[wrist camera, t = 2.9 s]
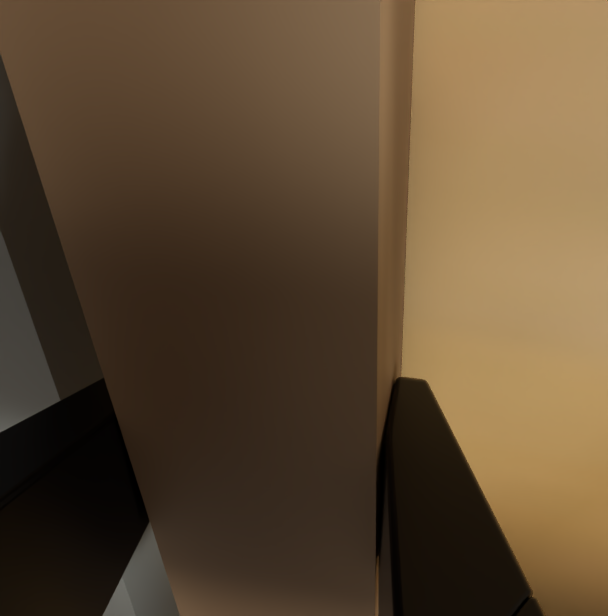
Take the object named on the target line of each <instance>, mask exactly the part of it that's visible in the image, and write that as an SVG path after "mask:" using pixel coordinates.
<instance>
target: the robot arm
mask: <svg viewBox="0 0 608 616" xmlns="http://www.w3.org/2000/svg"><path fill="white" fill-rule="evenodd" d="M149 522H150V520H149V517H148V514H147V511H146V508H145V505H144V501H143V498H142V495H141V492H140V489H139V486H138V483H137V480H136V476H135V473H134V470H133V467H132V464H131V461H130V458H129V454H128V451H127V448H126V445H125V442H124V439H123V436H122V433H121V429H120V426H119V423H118V420H117V417H116V414H115V411H114V408H113V404H112V401H111V398H110V395H109V392H108V389H107V386H106V382H105V379H104V378H102V379H100V380H98V381H96V382H94V383H93V384H91V385H89V386H87V387H85V388H83V389H81V390H79V391H77V392H76V393H74V394H72V395H70V396H68V397H66V398H64V399H62V400H60V401H59V402H57V403H55V404H53V405H51V406H49V407H47V408H45V409H43V410H41V411H40V412H38V413H36V414H34V415H32V416H30V417H28V418H26V419H24V420H23V421H21V422H19V423H17V424H15V425H13V426H11V427H9V428H7V429H6V430H4V431H2V432H0V616H103V614H104V612H105V610H106V608H107V606H108V604H109V602H110V600H111V598H112V596H113V594H114V592H115V590H116V588H117V586H118V584H119V582H120V580H121V578H122V576H123V574H124V572H125V570H126V568H127V566H128V564H129V562H130V560H131V558H132V556H133V554H134V552H135V550H136V548H137V546H138V544H139V542H140V540H141V538H142V536H143V534H144V532H145V530H146V528H147V526H148V524H149ZM532 594H533V591H532V589H531V587H530V585H529V583H528V581H527V579H526V577H525V575H524V573H523V571H522V569H521V567H520V565H519V563H518V561H517V559H516V557H515V555H514V553H513V551H512V549H511V547H510V545H509V543H508V541H507V539H506V537H505V535H504V533H503V531H502V529H501V527H500V525H499V523H498V521H497V519H496V517H495V515H494V513H493V511H492V509H491V507H490V505H489V503H488V502H487V500H486V498H485V496H484V494H483V492H482V490H481V488H480V486H479V484H478V482H477V480H476V478H475V476H474V474H473V472H472V470H471V468H470V466H469V464H468V462H467V460H466V458H465V456H464V454H463V452H462V450H461V448H460V446H459V444H458V442H457V440H456V438H455V436H454V434H453V432H452V430H451V428H450V426H449V424H448V422H447V420H446V418H445V416H444V414H443V412H442V410H441V408H440V406H439V404H438V402H437V400H436V398H435V396H434V394H433V392H432V390H431V388H430V386H429V384H428V383H427V381H425V380H423V379H417V378H409V377H398V378H397V379H396V380H395V384H394V390H393V395H392V400H391V406H390V411H389V416H388V422H387V427H386V434H385V446H384V462H383V479H382V495H381V512H380V531H379V553H378V616H545V614H544V612H543V610H542V608H541V606H540V604H539V602H538V600H537V599H536V598H534V597H532Z"/></svg>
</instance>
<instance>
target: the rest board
mask: <svg viewBox="0 0 608 616" xmlns="http://www.w3.org/2000/svg"><path fill="white" fill-rule="evenodd" d="M102 378H104V376H103V373H102V370H101V367H100V364H99V361H98V357H97V354H96V351H95V348H94V345H93V342H92V339H91V336H90V332H89V329H88V326H87V323H86V320H85V317H84V314H83V310H82V307H81V304H80V301H79V298H78V295H77V292H76V289H75V285H74V282H73V279H72V276H71V273H70V270H69V267H68V263H67V260H66V257H65V254H64V251H63V248H62V245H61V242H60V238H59V235H58V232H57V229H56V226H55V223H54V220H53V217H52V213H51V210H50V207H49V204H48V201H47V198H46V195H45V191H44V188H43V185H42V182H41V179H40V176H39V173H38V170H37V166H36V163H35V160H34V157H33V154H32V151H31V148H30V145H29V141H28V138H27V135H26V132H25V129H24V126H23V123H22V119H21V116H20V113H19V110H18V107H17V104H16V101H15V98H14V94H13V91H12V88H11V85H10V82H9V79H8V76H7V73H6V69H5V66H4V63H3V60H2V57H1V54H0V432H2V431H4V430H6V429H7V428H9V427H11V426H13V425H15V424H17V423H19V422H21V421H23V420H24V419H26V418H28V417H30V416H32V415H34V414H36V413H38V412H40V411H41V410H43V409H45V408H47V407H49V406H51V405H53V404H55V403H57V402H59V401H60V400H62V399H64V398H66V397H68V396H70V395H72V394H74V393H76V392H77V391H79V390H81V389H83V388H85V387H87V386H89V385H91V384H93V383H94V382H96V381H98V380H100V379H102ZM103 616H180V614H179V611H178V608H177V605H176V602H175V598H174V595H173V592H172V589H171V586H170V583H169V580H168V577H167V573H166V570H165V567H164V564H163V561H162V558H161V555H160V552H159V548H158V545H157V542H156V539H155V536H154V533H153V530H152V526H151V523H150V522H149V524H148V526H147V528H146V530H145V532H144V534H143V536H142V538H141V540H140V542H139V544H138V546H137V548H136V550H135V552H134V554H133V556H132V558H131V560H130V562H129V564H128V566H127V568H126V570H125V572H124V574H123V576H122V578H121V580H120V582H119V584H118V586H117V588H116V590H115V592H114V594H113V596H112V598H111V600H110V602H109V604H108V606H107V608H106V610H105V612H104V614H103Z"/></svg>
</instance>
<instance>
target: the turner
mask: <svg viewBox="0 0 608 616" xmlns="http://www.w3.org/2000/svg"><path fill="white" fill-rule="evenodd" d="M414 16H415V0H0V54H1V57H2V60H3V63H4V66H5V69H6V73H7V76H8V79H9V82H10V85H11V88H12V91H13V94H14V98H15V101H16V104H17V107H18V110H19V113H20V116H21V119H22V123H23V126H24V129H25V132H26V135H27V138H28V141H29V145H30V148H31V151H32V154H33V157H34V160H35V163H36V166H37V170H38V173H39V176H40V179H41V182H42V185H43V188H44V191H45V195H46V198H47V201H48V204H49V207H50V210H51V213H52V217H53V220H54V223H55V226H56V229H57V232H58V235H59V238H60V242H61V245H62V248H63V251H64V254H65V257H66V260H67V263H68V267H69V270H70V273H71V276H72V279H73V282H74V285H75V289H76V292H77V295H78V298H79V301H80V304H81V307H82V310H83V314H84V317H85V320H86V323H87V326H88V329H89V332H90V336H91V339H92V342H93V345H94V348H95V351H96V354H97V357H98V361H99V364H100V367H101V370H102V373H103V376H104V379H105V382H106V386H107V389H108V392H109V395H110V398H111V401H112V404H113V408H114V411H115V414H116V417H117V420H118V423H119V426H120V429H121V433H122V436H123V439H124V442H125V445H126V448H127V451H128V454H129V458H130V461H131V464H132V467H133V470H134V473H135V476H136V480H137V483H138V486H139V489H140V492H141V495H142V498H143V501H144V505H145V508H146V511H147V514H148V517H149V520H150V523H151V526H152V530H153V533H154V536H155V539H156V542H157V545H158V548H159V552H160V555H161V558H162V561H163V564H164V567H165V570H166V573H167V577H168V580H169V583H170V586H171V589H172V592H173V595H174V598H175V602H176V605H177V608H178V611H179V614H180V616H378V553H379V531H380V512H381V495H382V479H383V462H384V446H385V434H386V427H387V422H388V416H389V411H390V406H391V400H392V395H393V390H394V384H395V380H396V379H397V378H398V377H401V365H402V339H403V312H404V285H405V258H406V231H407V204H408V177H409V150H410V123H411V97H412V70H413V43H414Z"/></svg>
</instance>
